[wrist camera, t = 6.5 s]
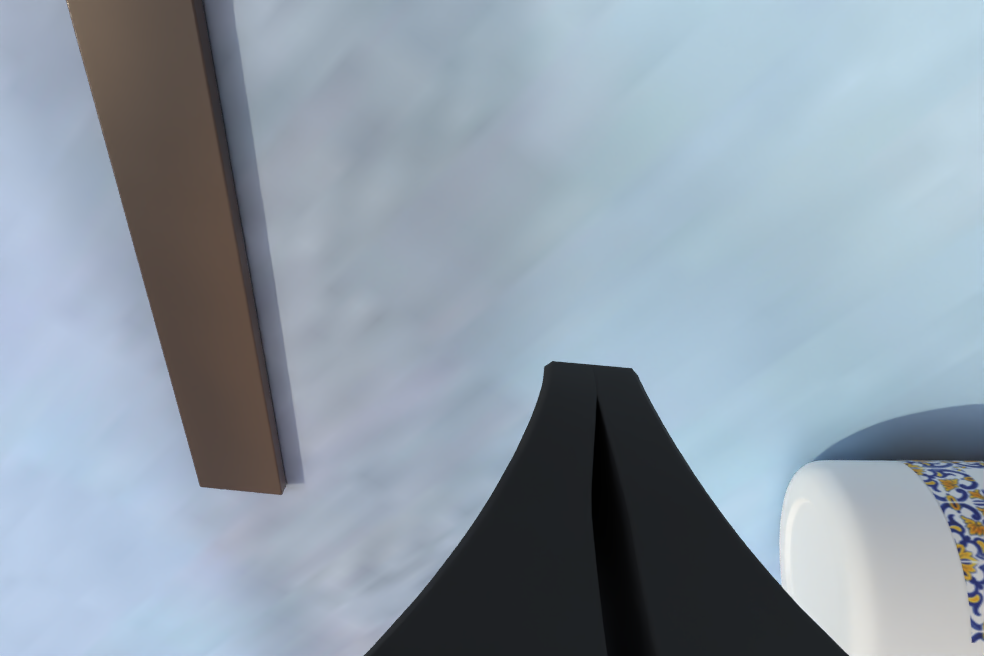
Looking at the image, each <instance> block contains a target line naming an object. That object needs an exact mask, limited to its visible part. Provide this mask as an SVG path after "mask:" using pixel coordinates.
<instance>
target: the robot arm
mask: <svg viewBox="0 0 984 656" xmlns="http://www.w3.org/2000/svg"><path fill="white" fill-rule="evenodd" d="M364 656H849V655H848V654H847V653H846V652H845V651H844V650H843V649H842V648H841V647H840V646H839V645H838V644H837V643H836V642H835V641H834V640H833V639H832V638H831V637H830V636H829V635H828V634H827V633H826V632H825V631H824V630H823V629H822V628H821V627H820V626H819V625H818V624H817V623H816V622H815V621H814V620H813V619H812V618H811V617H810V616H809V615H808V614H807V613H806V612H805V611H804V610H803V609H802V608H801V607H800V606H799V605H798V604H797V603H796V602H795V601H794V600H793V599H792V597H791V596H790V595H789V594H788V593H787V592H786V591H785V590H784V589H783V588H782V586H781V585H780V584H779V583H778V582H777V581H776V580H775V579H774V578H773V576H772V575H771V574H770V573H769V572H768V571H767V569H766V568H765V567H764V566H763V565H762V563H761V562H760V561H759V560H758V559H757V558H756V556H755V555H754V554H753V553H752V552H751V550H750V549H749V548H748V547H747V546H746V544H745V543H744V542H743V541H742V539H741V538H740V537H739V536H738V534H737V533H736V532H735V530H734V529H733V528H732V526H731V525H730V524H729V523H728V521H727V520H726V519H725V517H724V516H723V514H722V513H721V512H720V510H719V509H718V508H717V506H716V505H715V503H714V502H713V501H712V499H711V498H710V497H709V495H708V494H707V492H706V491H705V489H704V488H703V486H702V485H701V484H700V482H699V481H698V479H697V478H696V476H695V475H694V473H693V472H692V470H691V468H690V467H689V465H688V464H687V462H686V461H685V459H684V457H683V456H682V454H681V453H680V451H679V450H678V448H677V447H676V445H675V443H674V442H673V440H672V438H671V437H670V435H669V433H668V432H667V430H666V428H665V426H664V425H663V423H662V421H661V419H660V418H659V416H658V414H657V412H656V411H655V409H654V407H653V405H652V403H651V401H650V399H649V397H648V396H647V394H646V392H645V390H644V388H643V386H642V384H641V382H640V380H639V377H638V375H637V374H636V373H635V372H634V370H633V369H632V368H622V367H611V366H600V365H589V364H577V363H566V362H555V361H552V362H551V363H549V364H548V365H546V366H545V367H544V376H543V383H542V387H541V391H540V394H539V398H538V401H537V403H536V406H535V409H534V411H533V414H532V417H531V419H530V421H529V424H528V426H527V428H526V430H525V432H524V434H523V437H522V439H521V441H520V443H519V445H518V448H517V450H516V452H515V454H514V456H513V458H512V459H511V461H510V463H509V465H508V466H507V468H506V470H505V472H504V474H503V475H502V477H501V479H500V481H499V483H498V484H497V486H496V488H495V490H494V491H493V493H492V495H491V496H490V498H489V500H488V501H487V503H486V504H485V506H484V508H483V509H482V511H481V512H480V514H479V515H478V517H477V518H476V520H475V521H474V523H473V524H472V526H471V527H470V529H469V530H468V532H467V533H466V534H465V536H464V537H463V539H462V540H461V542H460V543H459V544H458V546H457V547H456V548H455V550H454V551H453V552H452V554H451V555H450V556H449V558H448V559H447V560H446V562H445V563H444V564H443V565H442V567H441V568H440V569H439V571H438V572H437V573H436V575H435V576H434V577H433V578H432V580H431V581H430V582H429V583H428V585H427V586H426V587H425V588H424V590H423V591H422V592H421V593H420V594H419V596H418V597H417V598H416V599H415V600H414V601H413V602H412V604H411V605H410V606H409V607H408V608H407V609H406V610H405V611H404V612H403V614H402V615H401V616H400V617H399V618H398V619H397V620H396V621H395V622H394V624H393V625H392V626H391V627H390V628H389V629H388V630H387V631H386V632H385V634H384V635H383V636H382V637H381V638H380V639H379V640H378V641H377V642H376V644H375V645H374V646H373V647H372V648H371V649H370V650H369V651H368V652H367V653H366V654H365V655H364Z"/></svg>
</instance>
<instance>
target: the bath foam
mask: <svg viewBox="0 0 984 656" xmlns="http://www.w3.org/2000/svg"><path fill="white" fill-rule="evenodd" d="M779 550H780V570H781V581H782V588H783V589H784V590H785V591H786V592H787V593H788V594H789V595H790V596H791V597H792V599H793V600H794V601H795V602H796V603H797V604H798V605H799V606H800V607H801V608H802V609H803V610H804V611H805V612H806V613H807V614H808V615H809V616H810V617H811V618H812V619H813V620H814V621H815V622H816V623H817V624H818V625H819V626H820V627H821V628H822V629H823V630H824V631H825V632H826V633H827V634H828V635H829V636H830V637H831V638H832V639H833V640H834V641H835V642H836V643H837V644H838V645H839V646H840V647H841V648H842V649H843V650H844V651H845V652H846V653H847V654H848V655H849V656H984V461H955V460H819V461H813V462H810V463H808V464H806V465H804V466H802V467H801V468H800V469H799V470H798V471H797V472H796V473H795V474H794V476H793V477H792V479H791V481H790V483H789V485H788V488H787V490H786V494H785V497H784V501H783V506H782V513H781V521H780V540H779Z"/></svg>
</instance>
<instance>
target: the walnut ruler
mask: <svg viewBox="0 0 984 656" xmlns="http://www.w3.org/2000/svg"><path fill="white" fill-rule="evenodd" d="M66 2H67V5H68V9H69V12H70V16H71V20H72V23H73V27H74V31H75V34H76V38H77V42H78V45H79V49H80V52H81V56H82V60H83V63H84V67H85V71H86V74H87V78H88V81H89V85H90V89H91V92H92V96H93V100H94V103H95V107H96V111H97V114H98V118H99V121H100V125H101V129H102V132H103V136H104V140H105V143H106V147H107V150H108V154H109V158H110V161H111V165H112V169H113V172H114V176H115V179H116V183H117V187H118V190H119V194H120V198H121V201H122V205H123V209H124V212H125V216H126V219H127V223H128V227H129V230H130V234H131V238H132V241H133V245H134V248H135V252H136V256H137V259H138V263H139V267H140V270H141V274H142V278H143V281H144V285H145V288H146V292H147V296H148V299H149V303H150V307H151V310H152V314H153V317H154V321H155V325H156V328H157V332H158V336H159V339H160V343H161V347H162V350H163V354H164V357H165V361H166V365H167V368H168V372H169V376H170V379H171V383H172V386H173V390H174V394H175V397H176V401H177V405H178V408H179V412H180V416H181V419H182V423H183V426H184V430H185V434H186V437H187V441H188V445H189V448H190V452H191V455H192V459H193V463H194V466H195V470H196V474H197V477H198V481H199V485H200V487H206V488H217V489H227V490H237V491H247V492H257V493H267V494H277V495H282V494H283V491H284V489H285V487H286V481H285V475H284V469H283V464H282V458H281V452H280V446H279V441H278V435H277V429H276V423H275V417H274V412H273V406H272V400H271V394H270V389H269V383H268V377H267V371H266V366H265V360H264V354H263V348H262V342H261V337H260V331H259V325H258V319H257V314H256V308H255V302H254V296H253V291H252V285H251V279H250V273H249V267H248V262H247V256H246V250H245V244H244V239H243V233H242V227H241V221H240V216H239V210H238V204H237V198H236V193H235V187H234V181H233V175H232V169H231V164H230V158H229V152H228V146H227V141H226V135H225V129H224V123H223V118H222V112H221V106H220V100H219V94H218V89H217V83H216V77H215V71H214V66H213V60H212V54H211V48H210V43H209V37H208V31H207V25H206V19H205V14H204V8H203V2H202V0H66Z"/></svg>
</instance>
